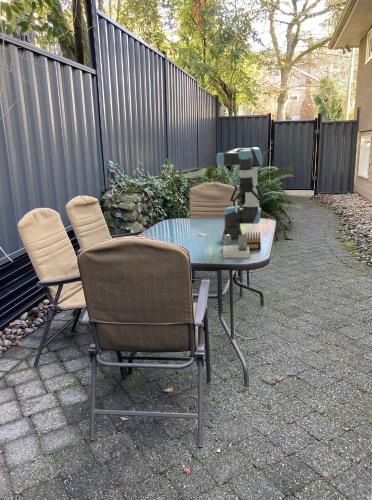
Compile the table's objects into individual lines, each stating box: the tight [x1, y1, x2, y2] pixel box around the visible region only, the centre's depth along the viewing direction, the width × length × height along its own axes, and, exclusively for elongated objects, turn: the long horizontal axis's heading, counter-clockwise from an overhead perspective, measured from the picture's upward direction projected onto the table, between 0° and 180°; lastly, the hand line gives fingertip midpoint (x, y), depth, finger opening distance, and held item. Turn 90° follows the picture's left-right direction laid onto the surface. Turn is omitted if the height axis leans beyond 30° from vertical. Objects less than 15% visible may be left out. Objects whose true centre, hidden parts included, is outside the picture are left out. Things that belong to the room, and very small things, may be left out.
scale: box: [222, 245, 251, 259], centre depth 241 cm, size 17×16×4 cm
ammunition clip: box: [244, 231, 262, 251], centre depth 250 cm, size 11×2×12 cm, turn 88°
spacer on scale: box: [238, 234, 248, 251], centre depth 235 cm, size 5×5×9 cm
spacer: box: [222, 234, 232, 247], centre depth 257 cm, size 5×5×9 cm
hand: (247, 211), depth 235 cm, fingers open, 13 cm apart
